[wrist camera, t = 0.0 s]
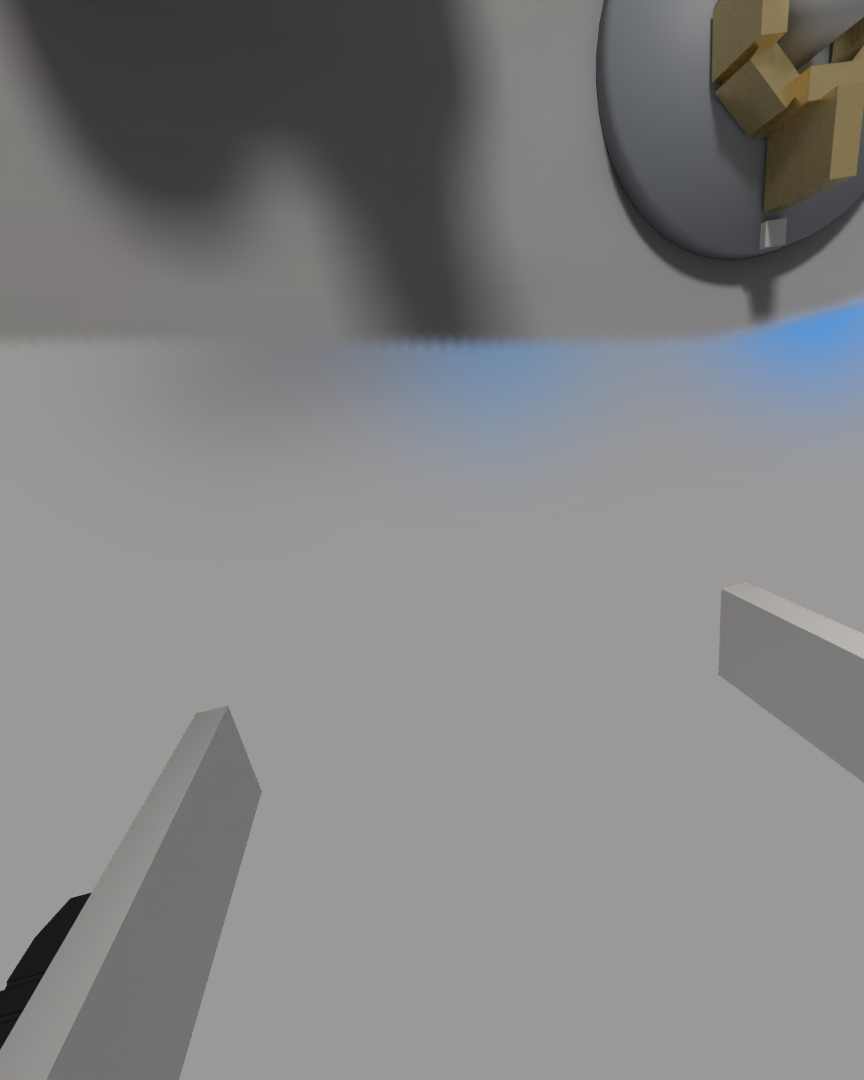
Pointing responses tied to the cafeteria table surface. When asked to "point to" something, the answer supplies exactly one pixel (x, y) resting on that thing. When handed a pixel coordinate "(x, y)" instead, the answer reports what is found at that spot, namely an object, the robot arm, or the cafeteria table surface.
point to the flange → (704, 126)
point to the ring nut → (790, 99)
